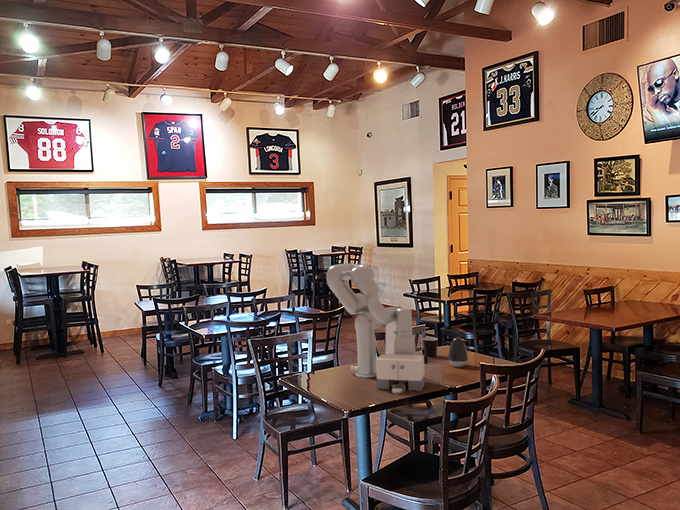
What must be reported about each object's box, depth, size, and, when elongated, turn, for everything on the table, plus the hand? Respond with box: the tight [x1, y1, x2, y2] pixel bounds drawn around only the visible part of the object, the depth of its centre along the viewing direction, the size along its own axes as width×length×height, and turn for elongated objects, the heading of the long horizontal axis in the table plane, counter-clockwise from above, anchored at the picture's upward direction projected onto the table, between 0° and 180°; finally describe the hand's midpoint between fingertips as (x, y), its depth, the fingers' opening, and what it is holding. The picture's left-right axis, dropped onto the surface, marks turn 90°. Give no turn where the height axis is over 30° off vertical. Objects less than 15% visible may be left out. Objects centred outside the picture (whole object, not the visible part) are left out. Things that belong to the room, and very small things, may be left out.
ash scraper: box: [391, 380, 407, 392], centre depth 250 cm, size 6×24×10 cm, turn 163°
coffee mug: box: [422, 337, 439, 359], centre depth 304 cm, size 12×9×10 cm
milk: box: [384, 321, 396, 354], centre depth 307 cm, size 12×12×26 cm
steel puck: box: [391, 387, 404, 395], centre depth 236 cm, size 5×5×2 cm
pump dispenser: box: [447, 336, 469, 368], centre depth 280 cm, size 10×10×15 cm
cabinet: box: [376, 353, 426, 392], centre depth 245 cm, size 20×13×14 cm, turn 73°
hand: (405, 371), depth 258 cm, fingers closed on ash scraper, 1 cm apart
